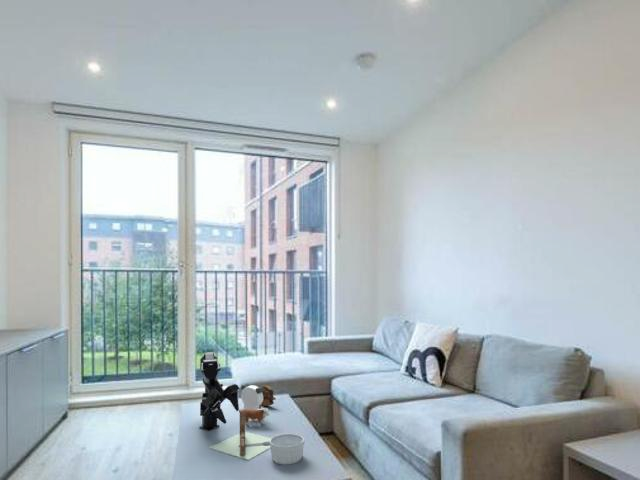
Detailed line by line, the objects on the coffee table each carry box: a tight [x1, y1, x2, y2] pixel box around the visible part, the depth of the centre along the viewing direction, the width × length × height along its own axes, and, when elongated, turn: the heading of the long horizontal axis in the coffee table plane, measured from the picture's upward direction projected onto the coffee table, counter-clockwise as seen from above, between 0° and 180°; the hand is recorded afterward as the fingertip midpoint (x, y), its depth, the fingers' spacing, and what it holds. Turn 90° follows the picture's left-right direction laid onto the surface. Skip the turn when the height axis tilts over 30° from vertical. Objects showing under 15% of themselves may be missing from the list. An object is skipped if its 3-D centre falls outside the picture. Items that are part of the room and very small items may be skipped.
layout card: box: [209, 431, 272, 461], centre depth 171 cm, size 21×20×1 cm
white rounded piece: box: [240, 383, 264, 423], centre depth 204 cm, size 12×11×15 cm
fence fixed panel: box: [240, 436, 245, 456], centre depth 165 cm, size 10×2×4 cm, turn 11°
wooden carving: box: [259, 385, 276, 407], centre depth 222 cm, size 16×5×10 cm, turn 50°
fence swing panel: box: [238, 408, 246, 436], centre depth 176 cm, size 10×3×11 cm, turn 11°
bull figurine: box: [245, 407, 270, 428], centre depth 193 cm, size 4×13×8 cm, turn 78°
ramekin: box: [270, 433, 305, 466], centre depth 158 cm, size 13×13×7 cm
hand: (231, 417), depth 178 cm, fingers open, 9 cm apart
